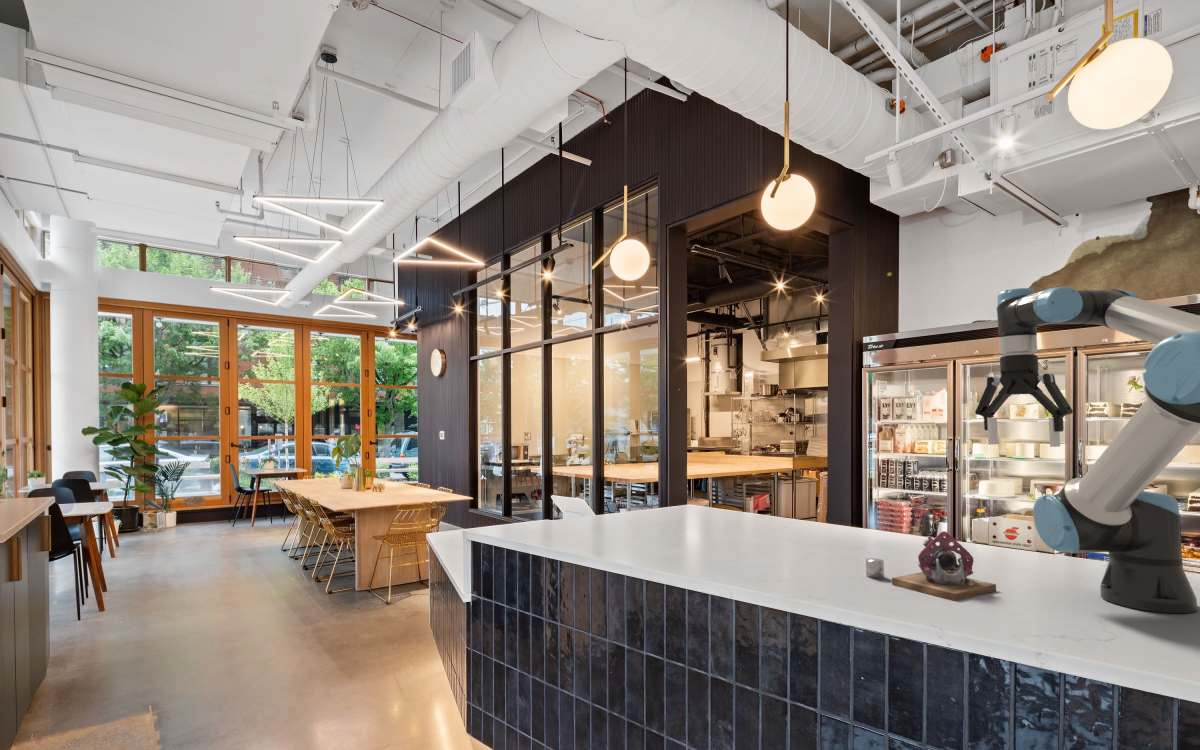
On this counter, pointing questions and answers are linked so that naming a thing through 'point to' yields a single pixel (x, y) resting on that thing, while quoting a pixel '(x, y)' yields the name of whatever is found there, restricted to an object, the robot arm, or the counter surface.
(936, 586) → the stand
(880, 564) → the grey metallic cube
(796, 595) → the counter surface
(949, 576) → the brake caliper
